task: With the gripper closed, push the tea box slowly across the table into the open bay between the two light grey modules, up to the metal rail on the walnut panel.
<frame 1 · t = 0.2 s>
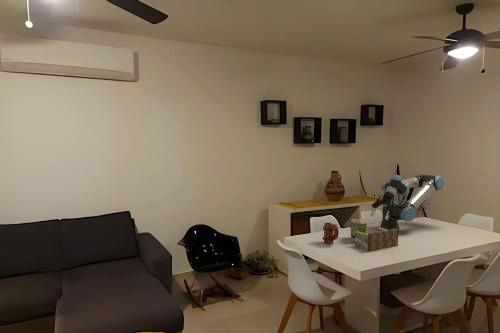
hand: (378, 217, 265), 16 cm above the table, tool tilted 35°, fingers open, 13 cm apart
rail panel: (383, 248, 238), on the table
tea box: (358, 240, 258), on the table
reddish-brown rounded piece: (330, 244, 249), on the table
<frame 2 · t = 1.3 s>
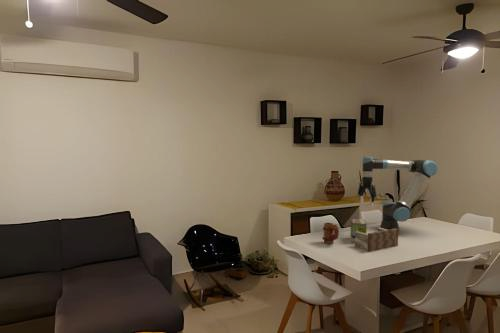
hand: (366, 205, 273), 24 cm above the table, tool pointing down, fingers open, 9 cm apart
nothing on the table moved.
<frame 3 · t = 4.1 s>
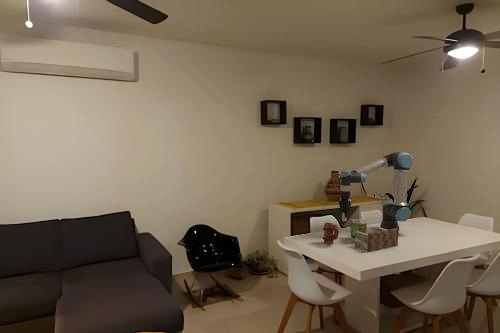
hand: (344, 220, 269), 12 cm above the table, tool pointing down, fingers closed
nothing on the table moved.
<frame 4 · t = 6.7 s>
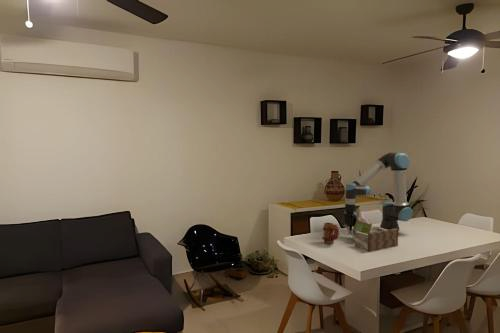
hand: (349, 234, 265), 3 cm above the table, tool pointing down, fingers closed
tea box: (358, 239, 257), point 1 cm above the table, touching gripper
everything else where it was.
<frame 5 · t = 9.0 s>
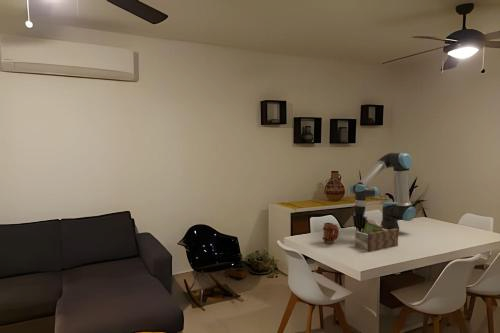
hand: (358, 237, 256), 3 cm above the table, tool pointing down, fingers closed
tea box: (368, 241, 251), point 1 cm above the table, touching gripper, hand, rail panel
everything else where it was.
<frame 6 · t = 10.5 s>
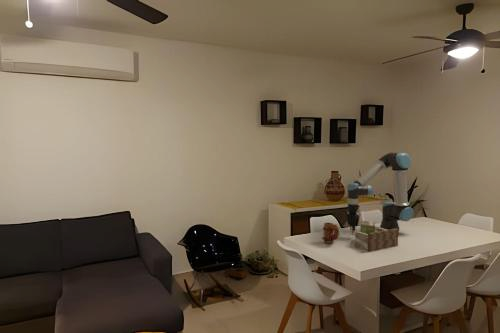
hand: (352, 234, 263), 3 cm above the table, tool pointing down, fingers closed
tea box: (367, 243, 252), on the table
everything else where it was.
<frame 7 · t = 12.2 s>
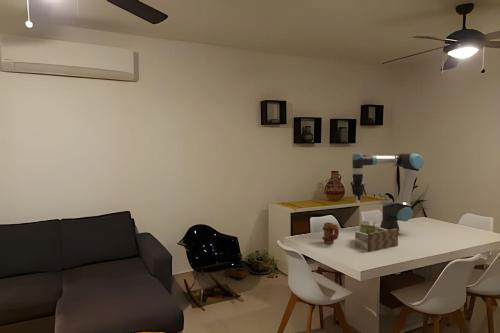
hand: (357, 204, 266), 25 cm above the table, tool pointing down, fingers closed
nothing on the table moved.
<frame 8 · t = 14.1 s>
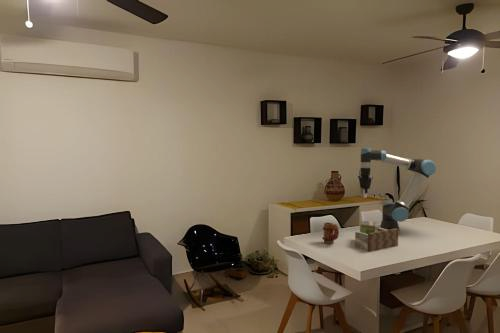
hand: (364, 197, 274), 29 cm above the table, tool pointing down, fingers closed
nothing on the table moved.
at the end: tea box inside the target area (3.9 cm from its centre), on the table; tea box tilted 0°; tea box moved 7.4 cm from its start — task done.
